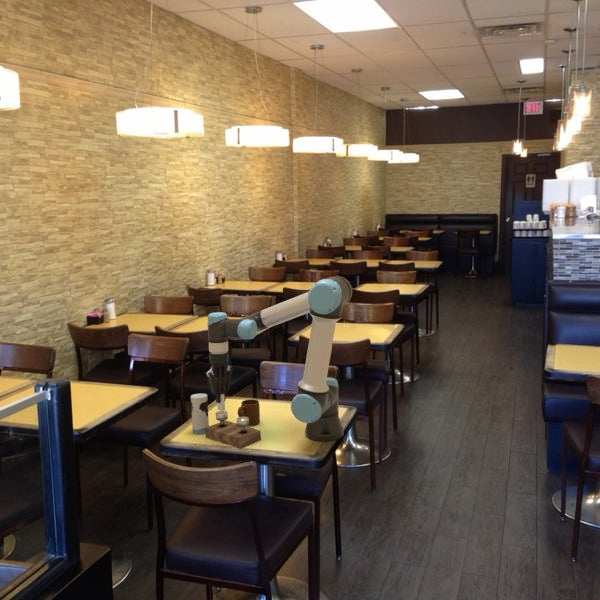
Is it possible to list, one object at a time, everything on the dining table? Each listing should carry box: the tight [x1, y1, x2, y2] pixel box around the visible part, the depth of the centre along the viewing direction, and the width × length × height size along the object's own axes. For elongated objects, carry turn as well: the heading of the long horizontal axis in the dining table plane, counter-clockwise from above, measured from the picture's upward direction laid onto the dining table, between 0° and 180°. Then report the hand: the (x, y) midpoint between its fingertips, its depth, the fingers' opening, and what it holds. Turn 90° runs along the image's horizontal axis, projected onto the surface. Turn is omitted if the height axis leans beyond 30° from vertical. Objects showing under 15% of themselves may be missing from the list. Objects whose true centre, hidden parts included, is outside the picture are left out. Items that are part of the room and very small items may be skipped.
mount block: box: [205, 420, 262, 450], centre depth 263 cm, size 20×11×4 cm, turn 49°
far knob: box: [215, 410, 229, 428], centre depth 266 cm, size 5×5×6 cm
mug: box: [237, 399, 261, 427], centre depth 278 cm, size 12×8×9 cm, turn 147°
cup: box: [190, 393, 210, 435], centre depth 271 cm, size 7×7×15 cm
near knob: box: [236, 416, 249, 434], centre depth 258 cm, size 5×5×6 cm
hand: (221, 409), depth 265 cm, fingers closed
